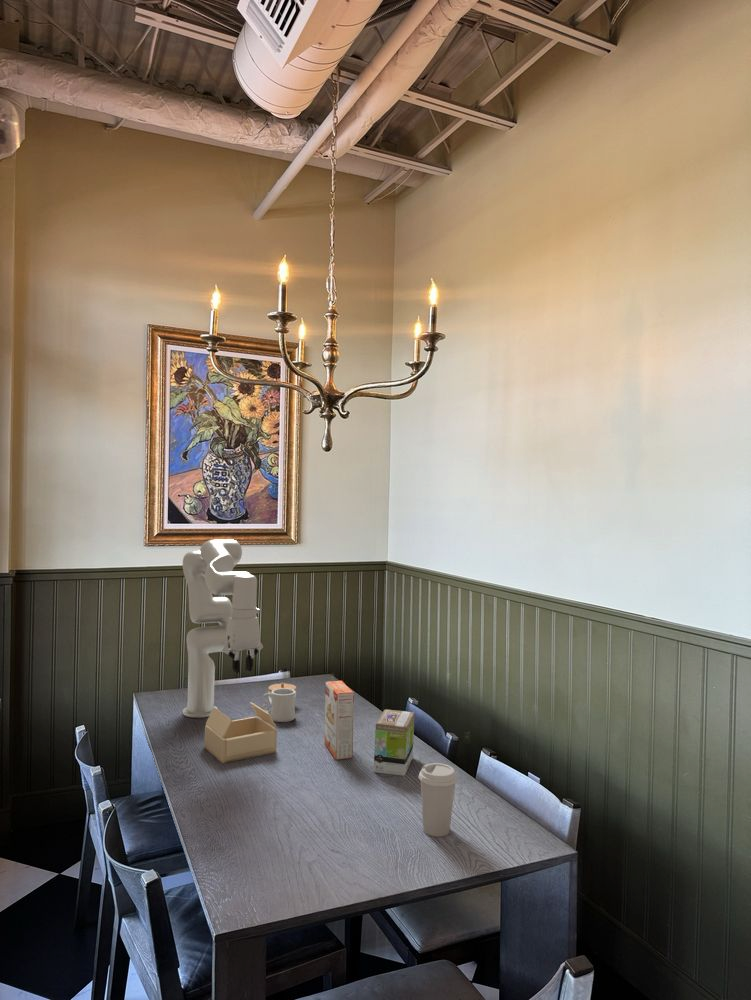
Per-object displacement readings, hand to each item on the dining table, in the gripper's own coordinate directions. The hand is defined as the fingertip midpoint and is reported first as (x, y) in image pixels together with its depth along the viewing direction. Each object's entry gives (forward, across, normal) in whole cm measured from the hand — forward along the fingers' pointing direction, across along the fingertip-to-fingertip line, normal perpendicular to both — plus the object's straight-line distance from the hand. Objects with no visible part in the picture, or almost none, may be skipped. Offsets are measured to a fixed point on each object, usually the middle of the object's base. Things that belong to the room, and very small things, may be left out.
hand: (242, 670), depth 214 cm
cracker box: (+25, -26, +17) cm, 40 cm away
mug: (+25, -24, -21) cm, 41 cm away
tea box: (+26, -35, +35) cm, 56 cm away
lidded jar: (+25, -31, -32) cm, 51 cm away
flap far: (+15, -7, 0) cm, 17 cm away
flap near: (+15, +7, 0) cm, 17 cm away
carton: (+25, 0, 0) cm, 25 cm away
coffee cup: (+25, -20, +73) cm, 80 cm away
